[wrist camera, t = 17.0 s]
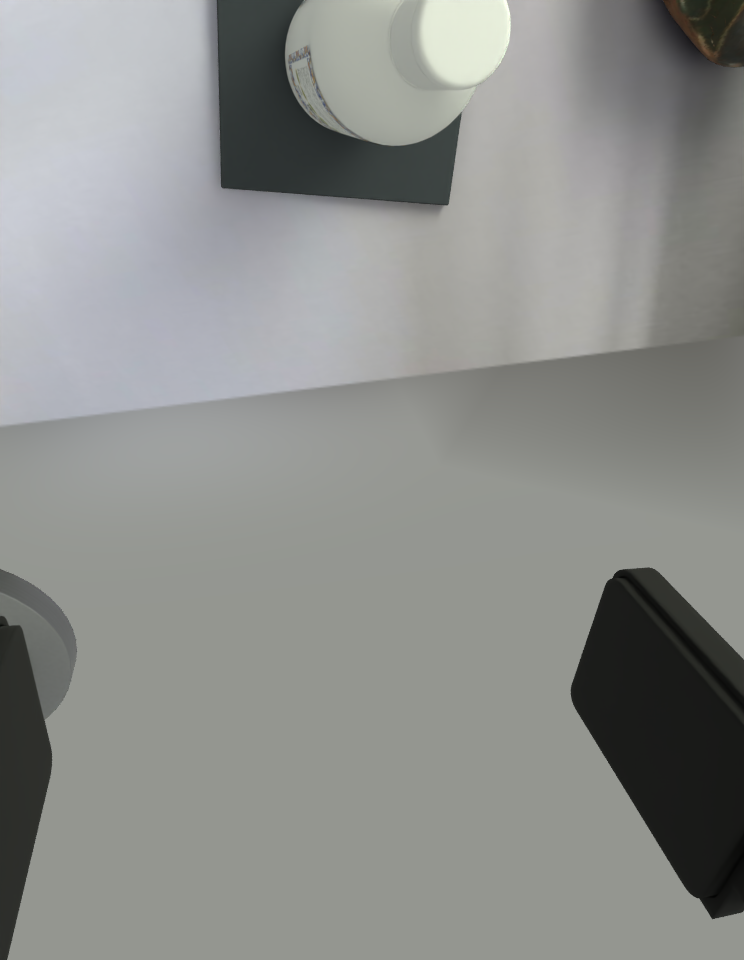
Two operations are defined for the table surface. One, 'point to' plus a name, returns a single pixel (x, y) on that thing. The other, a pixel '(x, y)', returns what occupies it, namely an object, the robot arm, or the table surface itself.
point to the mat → (306, 125)
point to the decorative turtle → (713, 27)
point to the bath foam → (392, 63)
